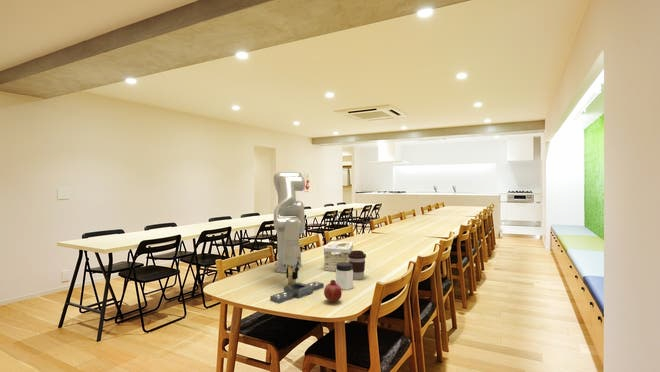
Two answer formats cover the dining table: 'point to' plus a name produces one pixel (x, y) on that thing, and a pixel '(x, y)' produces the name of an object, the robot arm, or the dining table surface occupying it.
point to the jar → (344, 275)
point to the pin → (290, 276)
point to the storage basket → (336, 254)
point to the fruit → (332, 291)
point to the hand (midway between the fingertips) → (292, 277)
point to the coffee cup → (357, 264)
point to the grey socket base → (296, 291)
